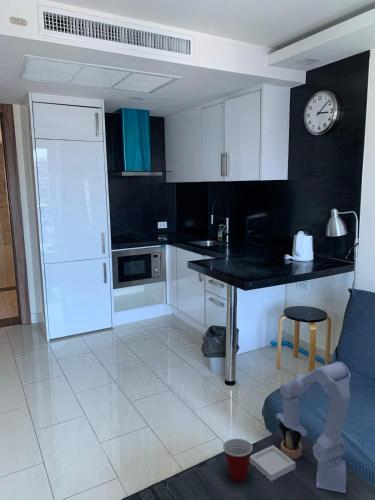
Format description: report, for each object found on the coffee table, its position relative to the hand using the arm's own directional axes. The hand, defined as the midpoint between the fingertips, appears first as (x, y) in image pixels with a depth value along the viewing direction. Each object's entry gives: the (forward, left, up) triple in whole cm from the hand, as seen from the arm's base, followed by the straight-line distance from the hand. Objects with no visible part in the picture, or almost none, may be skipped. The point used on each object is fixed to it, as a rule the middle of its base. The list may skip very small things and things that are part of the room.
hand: (291, 443), depth 150 cm
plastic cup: (+17, +19, -4) cm, 26 cm away
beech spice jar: (0, 0, -3) cm, 3 cm away
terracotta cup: (0, 0, -3) cm, 3 cm away
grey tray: (+6, +10, -3) cm, 12 cm away
